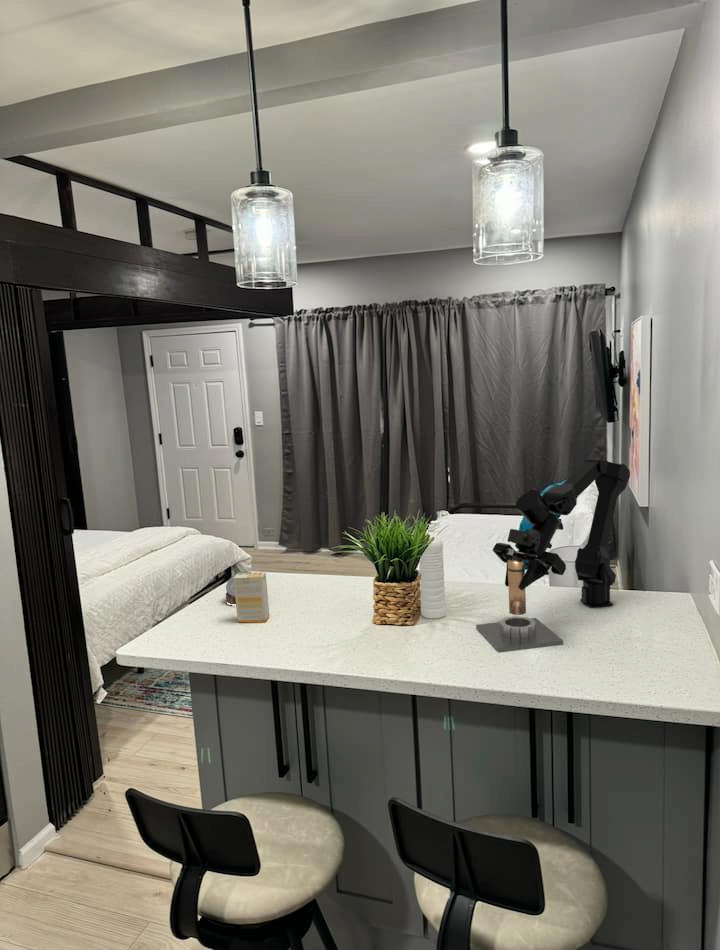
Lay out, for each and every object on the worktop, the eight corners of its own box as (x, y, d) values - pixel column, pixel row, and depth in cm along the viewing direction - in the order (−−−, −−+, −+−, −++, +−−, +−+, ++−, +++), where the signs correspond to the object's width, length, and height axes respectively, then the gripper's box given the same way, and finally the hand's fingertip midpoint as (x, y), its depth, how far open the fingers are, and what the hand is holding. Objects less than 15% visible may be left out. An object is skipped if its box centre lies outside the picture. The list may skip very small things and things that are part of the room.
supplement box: (270, 616, 196) (266, 571, 194) (266, 622, 191) (262, 576, 190) (241, 617, 197) (237, 572, 195) (236, 623, 192) (232, 577, 190)
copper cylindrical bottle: (527, 609, 172) (525, 558, 170) (525, 615, 168) (523, 563, 166) (510, 608, 173) (508, 557, 171) (507, 614, 169) (506, 562, 168)
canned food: (260, 612, 214) (272, 585, 211) (238, 620, 206) (250, 592, 203) (235, 592, 219) (246, 565, 216) (213, 598, 211) (224, 570, 208)
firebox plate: (535, 621, 180) (535, 608, 180) (563, 644, 165) (562, 630, 164) (476, 628, 178) (475, 615, 178) (498, 652, 162) (497, 637, 162)
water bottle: (441, 620, 185) (437, 528, 182) (418, 617, 188) (413, 527, 185) (451, 609, 193) (448, 521, 190) (429, 607, 196) (425, 520, 193)
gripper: (495, 511, 177) (467, 562, 172) (557, 520, 162) (528, 577, 157) (517, 535, 183) (490, 586, 178) (578, 546, 168) (551, 602, 163)
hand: (513, 587), depth 169 cm, fingers closed on copper cylindrical bottle, 4 cm apart
